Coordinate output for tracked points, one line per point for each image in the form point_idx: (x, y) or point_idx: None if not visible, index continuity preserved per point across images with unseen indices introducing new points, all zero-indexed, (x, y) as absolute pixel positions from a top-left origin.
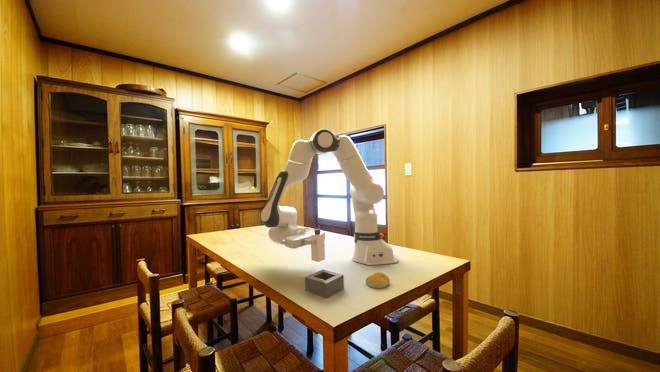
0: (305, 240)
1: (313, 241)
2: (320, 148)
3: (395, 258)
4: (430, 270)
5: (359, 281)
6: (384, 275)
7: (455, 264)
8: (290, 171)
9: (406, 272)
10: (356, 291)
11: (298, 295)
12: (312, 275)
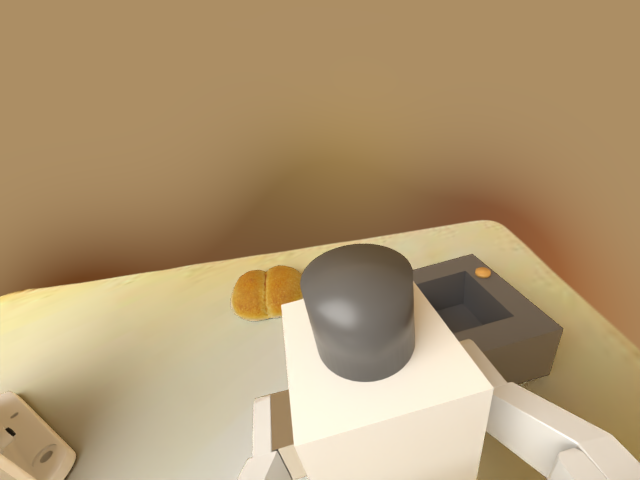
0: (613, 447)
1: (468, 343)
2: None
3: None
4: (96, 298)
5: None
6: (251, 271)
7: (26, 296)
8: None
9: (135, 316)
10: None
11: (590, 351)
12: (514, 327)
